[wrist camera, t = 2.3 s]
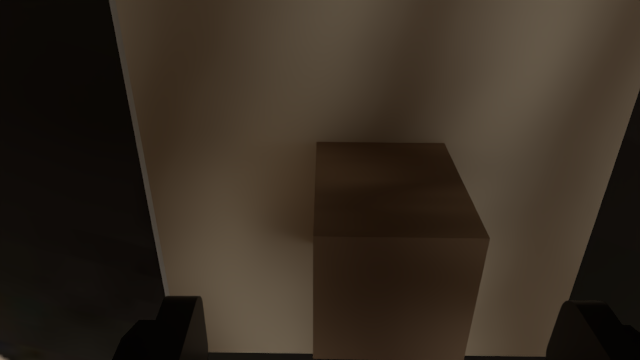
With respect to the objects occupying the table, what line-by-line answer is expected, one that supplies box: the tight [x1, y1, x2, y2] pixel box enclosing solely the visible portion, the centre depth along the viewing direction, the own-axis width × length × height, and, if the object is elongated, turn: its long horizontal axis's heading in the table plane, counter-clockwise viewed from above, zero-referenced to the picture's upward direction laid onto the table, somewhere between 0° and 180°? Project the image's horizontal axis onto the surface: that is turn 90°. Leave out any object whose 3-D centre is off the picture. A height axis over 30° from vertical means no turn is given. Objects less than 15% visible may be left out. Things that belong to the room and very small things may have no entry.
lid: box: [115, 0, 640, 360], centre depth 15 cm, size 15×15×6 cm
